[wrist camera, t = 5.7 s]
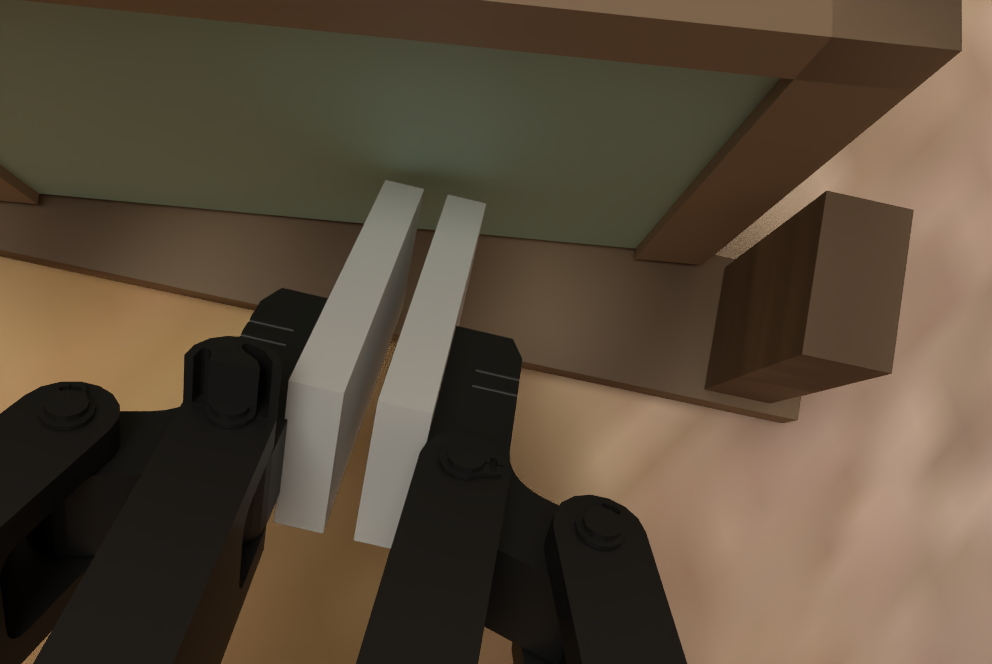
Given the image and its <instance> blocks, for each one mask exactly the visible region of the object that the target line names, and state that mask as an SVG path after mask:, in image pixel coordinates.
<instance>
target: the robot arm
mask: <svg viewBox="0 0 992 664" xmlns="http://www.w3.org/2000/svg"><path fill="white" fill-rule="evenodd" d="M423 192H424V189H422V188H418V187H414V186H409V185H405V184H401V183H397V182H392V181H388V180H385V182H384V184H383V186H382V188H381V190H380V192H379V195H378V197H377V199H376V201H375V203H374V205H373V207H372V209H371V211H370V213H369V215H368V217H367V219H366V221H365V223H364V226H363V228H362V230H361V232H360V234H359V236H358V238H357V240H356V242H355V244H354V246H353V248H352V250H351V252H350V255H349V257H348V259H347V261H346V263H345V265H344V267H343V269H342V271H341V273H340V275H339V277H338V279H337V281H336V284H335V286H334V288H333V290H332V292H331V294H330V296H329V298H325V297H320V296H316V295H312V294H307V293H303V292H299V291H294V290H290V289H286V288H281V289H279V290H277V291H276V292H274V293H272V294H271V295H269V296H267V297H266V298H264V299H263V300H261V301H260V303H259V304H258V306H257V308H256V309H255V311H254V313H253V314H252V316H251V318H250V321H249V322H248V323H247V324H246V326H245V328H244V329H243V331H242V333H241V337H240V336H239V337H234V336H225V337H217V338H210V339H207V340H205V341H203V342H200V343H198V344H195V345H194V346H193V347H192V348H191V349H190V350H189V351H188V352H187V353H186V354H185V356H184V393H183V403H182V405H181V406H180V407H177V408H173V409H169V410H162V411H120V405H119V403H118V402H117V400H116V399H115V397H114V396H113V394H111V393H110V392H108V391H107V390H105V389H103V388H102V387H100V386H97V385H93V384H88V383H84V382H58V383H54V384H50V385H46V386H41V387H39V388H38V389H36V390H34V391H32V392H30V393H28V394H26V395H25V396H23V397H22V398H21V399H19V400H18V401H17V402H15V403H14V404H13V405H11V406H10V407H9V408H7V409H6V410H5V411H3V412H2V413H1V414H0V664H22V662H23V661H24V660H25V659H26V658H27V657H28V656H29V655H30V654H31V653H32V652H33V651H34V650H35V648H36V647H37V646H38V645H39V644H40V643H41V642H42V641H43V640H44V639H45V638H46V637H47V636H48V634H49V633H50V632H51V631H52V632H51V633H50V635H49V637H48V639H47V640H46V642H45V644H44V646H43V647H42V649H41V651H40V653H39V654H38V656H37V658H36V660H35V661H34V663H33V664H221V661H222V658H223V656H224V653H225V650H226V648H227V645H228V643H229V640H230V637H231V635H232V632H233V629H234V627H235V624H236V621H237V619H238V616H239V613H240V611H241V608H242V605H243V603H244V600H245V597H246V595H247V592H248V589H249V587H250V584H251V581H252V579H253V576H254V574H255V571H256V568H257V566H258V563H259V560H260V558H261V555H262V552H263V550H264V542H265V532H266V524H267V522H268V520H269V517H270V515H271V512H272V510H273V508H274V505H275V503H276V506H275V515H274V523H278V524H282V525H287V526H291V527H296V528H300V529H305V530H309V531H314V532H318V533H324V530H325V527H326V524H327V521H328V519H329V516H330V513H331V510H332V507H333V504H334V501H335V499H336V496H337V493H338V490H339V487H340V484H341V481H342V479H343V476H344V473H345V470H346V467H347V464H348V462H349V459H350V456H351V453H352V450H353V447H354V444H355V442H356V439H357V436H358V433H359V430H360V427H361V424H362V422H363V419H364V416H365V413H366V410H367V407H368V404H369V402H370V399H371V396H372V393H373V390H374V387H375V385H376V382H377V379H378V376H379V373H380V370H381V367H382V365H383V362H384V359H385V356H386V353H387V350H388V347H389V345H390V342H391V339H392V336H393V333H394V330H395V328H396V325H397V322H398V319H399V316H400V313H401V310H402V308H403V303H404V298H405V292H406V287H407V281H408V276H409V270H410V265H411V259H412V253H413V248H414V242H415V237H416V231H417V226H418V220H419V215H420V209H421V204H422V198H423ZM485 207H486V203H482V202H478V201H473V200H469V199H465V198H461V197H456V196H452V195H447V198H446V201H445V204H444V207H443V210H442V213H441V216H440V219H439V222H438V225H437V228H436V231H435V234H434V237H433V240H432V243H431V246H430V249H429V251H428V254H427V257H426V260H425V263H424V266H423V269H422V272H421V275H420V278H419V281H418V284H417V287H416V290H415V293H414V296H413V299H412V302H411V305H410V307H409V310H408V313H407V316H406V319H405V322H404V325H403V328H402V331H401V334H400V337H399V340H398V343H397V346H396V349H395V352H394V355H393V358H392V361H391V364H390V366H389V369H388V372H387V375H386V378H385V381H384V384H383V387H382V390H381V393H380V396H379V399H378V403H377V409H376V414H375V420H374V426H373V432H372V437H371V443H370V449H369V455H368V460H367V466H366V472H365V477H364V483H363V489H362V495H361V500H360V506H359V512H358V518H357V523H356V529H355V535H354V541H359V542H363V543H368V544H372V545H376V546H381V547H385V548H390V553H389V556H388V559H387V563H386V566H385V569H384V573H383V576H382V579H381V582H380V586H379V589H378V592H377V596H376V599H375V602H374V606H373V609H372V612H371V616H370V619H369V622H368V626H367V629H366V632H365V635H364V639H363V642H362V645H361V649H360V652H359V655H358V659H357V662H356V664H478V660H479V654H480V648H481V642H482V637H483V631H484V626H485V627H486V628H488V629H490V630H492V631H494V632H496V633H497V634H499V635H501V636H503V637H505V638H507V639H508V640H510V641H512V655H513V662H514V664H687V662H686V658H685V655H684V652H683V649H682V646H681V643H680V639H679V636H678V633H677V630H676V627H675V623H674V620H673V617H672V614H671V611H670V607H669V604H668V601H667V598H666V595H665V592H664V588H663V585H662V582H661V579H660V576H659V572H658V569H657V566H656V563H655V560H654V556H653V553H652V550H651V547H650V544H649V541H648V537H647V534H646V532H645V530H644V528H643V526H642V525H641V523H640V521H639V519H638V518H637V517H636V516H635V515H633V514H632V513H631V512H630V511H629V510H628V509H627V508H626V507H624V506H622V505H620V504H618V503H616V502H614V501H612V500H610V499H608V498H603V497H599V496H594V495H583V496H574V497H572V498H570V499H568V500H566V501H564V502H562V503H561V504H560V505H556V504H554V503H552V502H550V501H548V500H546V499H544V498H542V497H541V496H539V495H537V494H536V493H534V492H532V491H531V490H530V489H529V488H527V487H526V486H525V485H524V484H523V483H522V482H521V481H520V480H519V479H518V477H517V476H516V474H515V473H514V471H513V469H512V466H511V464H510V454H509V452H510V445H511V437H512V430H513V423H514V416H515V408H516V401H517V394H518V387H519V379H520V372H521V365H522V357H521V355H520V353H519V351H518V348H517V346H516V344H515V342H514V340H513V339H512V338H507V337H503V336H499V335H494V334H490V333H486V332H481V331H477V330H473V329H468V328H464V327H460V326H459V323H460V319H461V315H462V310H463V306H464V301H465V297H466V292H467V288H468V283H469V279H470V274H471V270H472V265H473V261H474V256H475V252H476V247H477V243H478V238H479V234H480V229H481V225H482V220H483V216H484V211H485Z"/></svg>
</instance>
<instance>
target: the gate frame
mask: <svg viewBox="0 0 992 664" xmlns="http://www.w3.org/2000/svg"><path fill="white" fill-rule="evenodd" d="M913 211H914V210H912V209H907V208H903V207H898V206H894V205H889V204H885V203H880V202H875V201H871V200H866V199H862V198H857V197H853V196H848V195H844V194H839V193H835V192H830V191H826V192H824V193H823V194H822V195H820V196H819V197H818V198H816V199H815V200H814V201H812V202H811V203H810V204H808V205H807V206H806V207H804V208H803V209H802V210H800V211H799V212H798V213H797V214H795V215H794V216H793V217H791V218H790V219H789V220H787V221H786V222H785V223H783V224H782V225H781V226H779V227H778V228H777V229H775V230H774V231H773V232H771V233H770V234H769V235H767V236H766V237H765V238H763V239H762V240H761V241H759V242H758V243H757V244H755V245H754V246H753V247H751V248H750V249H749V250H747V251H746V252H745V253H743V254H742V255H741V256H739V257H738V258H737V259H731V258H726V257H721V256H717V255H713V256H712V257H711V258H710V259H709V260H707V261H706V262H705V263H704V264H703V265H697V264H686V263H675V262H664V261H653V260H642V259H635V253H636V249H635V248H624V247H613V246H603V245H592V244H581V243H570V242H559V241H548V240H537V239H527V238H516V237H505V236H494V235H483V234H479V238H478V243H477V247H476V252H475V256H474V261H473V265H472V270H471V274H470V279H469V283H468V288H467V292H466V297H465V301H464V306H463V310H462V315H461V319H460V323H459V326H460V327H464V328H468V329H473V330H477V331H481V332H486V333H490V334H494V335H499V336H503V337H507V338H512V339H513V340H514V342H515V344H516V346H517V348H518V351H519V353H520V355H521V357H522V365H521V367H522V368H527V369H532V370H536V371H541V372H546V373H550V374H555V375H560V376H564V377H569V378H574V379H579V380H583V381H588V382H593V383H597V384H602V385H607V386H611V387H616V388H621V389H625V390H630V391H635V392H639V393H644V394H649V395H653V396H658V397H663V398H667V399H672V400H677V401H681V402H686V403H691V404H696V405H700V406H705V407H710V408H714V409H719V410H724V411H728V412H733V413H738V414H742V415H747V416H752V417H756V418H761V419H766V420H770V421H775V422H780V423H785V422H790V421H796V420H798V414H799V407H800V400H801V396H803V395H807V394H811V393H815V392H819V391H823V390H827V389H831V388H835V387H839V386H843V385H847V384H851V383H855V382H859V381H864V380H868V379H872V378H876V377H880V376H884V375H888V374H892V367H893V359H894V352H895V345H896V337H897V330H898V322H899V315H900V307H901V300H902V292H903V285H904V278H905V270H906V263H907V255H908V248H909V240H910V233H911V225H912V218H913ZM363 226H364V223H353V222H342V221H331V220H321V219H310V218H299V217H288V216H277V215H266V214H255V213H245V212H234V211H223V210H212V209H201V208H190V207H180V206H169V205H158V204H147V203H136V202H125V201H114V200H104V199H93V198H82V197H71V196H60V195H49V194H39V196H38V203H37V204H31V203H20V202H9V201H0V256H3V257H7V258H12V259H17V260H21V261H26V262H31V263H35V264H40V265H45V266H49V267H54V268H59V269H64V270H68V271H73V272H78V273H82V274H87V275H92V276H96V277H101V278H106V279H110V280H115V281H120V282H124V283H129V284H134V285H138V286H143V287H148V288H152V289H157V290H162V291H167V292H171V293H176V294H181V295H185V296H190V297H195V298H199V299H204V300H209V301H213V302H218V303H223V304H227V305H232V306H237V307H241V308H246V309H251V310H255V309H256V308H257V306H258V304H259V303H260V301H261V300H263V299H264V298H266V297H267V296H269V295H271V294H272V293H274V292H276V291H277V290H279V289H281V288H286V289H290V290H294V291H299V292H303V293H307V294H312V295H316V296H320V297H325V298H329V296H330V294H331V292H332V290H333V288H334V286H335V284H336V281H337V279H338V277H339V275H340V273H341V271H342V269H343V267H344V265H345V263H346V261H347V259H348V257H349V255H350V252H351V250H352V248H353V246H354V244H355V242H356V240H357V238H358V236H359V234H360V232H361V230H362V228H363ZM435 231H436V230H429V229H418V228H417V231H416V237H415V242H414V248H413V253H412V259H411V265H410V270H409V276H408V281H407V287H406V292H405V298H404V303H403V308H402V310H401V313H400V316H399V319H398V322H397V325H396V328H395V330H394V333H393V336H392V339H391V340H396V341H398V340H399V337H400V334H401V331H402V328H403V325H404V322H405V319H406V316H407V313H408V310H409V307H410V305H411V302H412V299H413V296H414V293H415V290H416V287H417V284H418V281H419V278H420V275H421V272H422V269H423V266H424V263H425V260H426V257H427V254H428V251H429V249H430V246H431V243H432V240H433V237H434V234H435Z"/></svg>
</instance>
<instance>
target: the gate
mask: <svg viewBox="0 0 992 664" xmlns="http://www.w3.org/2000/svg"><path fill="white" fill-rule="evenodd" d="M961 51H962V1H961V0H0V201H9V202H20V203H31V204H37V203H38V196H39V194H49V195H60V196H71V197H82V198H93V199H104V200H114V201H125V202H136V203H147V204H158V205H169V206H180V207H190V208H201V209H212V210H223V211H234V212H245V213H255V214H266V215H277V216H288V217H299V218H310V219H321V220H331V221H342V222H353V223H365V221H366V219H367V217H368V215H369V213H370V211H371V209H372V207H373V205H374V203H375V201H376V199H377V197H378V195H379V192H380V190H381V188H382V186H383V184H384V182H385V180H388V181H392V182H397V183H401V184H405V185H409V186H414V187H418V188H422V189H424V192H423V198H422V204H421V209H420V215H419V220H418V226H417V228H418V229H429V230H436V228H437V225H438V222H439V219H440V216H441V213H442V210H443V207H444V204H445V201H446V198H447V195H452V196H456V197H461V198H465V199H469V200H473V201H478V202H482V203H486V207H485V211H484V216H483V220H482V225H481V229H480V234H483V235H494V236H505V237H516V238H527V239H537V240H548V241H559V242H570V243H581V244H592V245H603V246H613V247H624V248H635V249H636V253H635V259H642V260H653V261H664V262H675V263H686V264H697V265H703V264H704V263H705V262H706V261H707V260H709V259H710V258H711V257H712V256H713V255H715V254H716V253H717V252H718V251H720V250H721V249H722V248H723V247H724V246H726V245H727V244H728V243H729V242H730V241H732V240H733V239H734V238H735V237H737V236H738V235H739V234H740V233H741V232H743V231H744V230H745V229H746V228H747V227H749V226H750V225H751V224H752V223H753V222H755V221H756V220H757V219H758V218H760V217H761V216H762V215H763V214H764V213H766V212H767V211H768V210H769V209H770V208H772V207H773V206H774V205H775V204H777V203H778V202H779V201H780V200H781V199H783V198H784V197H785V196H786V195H787V194H789V193H790V192H791V191H792V190H793V189H795V188H796V187H797V186H798V185H800V184H801V183H802V182H803V181H804V180H806V179H807V178H808V177H809V176H810V175H812V174H813V173H814V172H815V171H817V170H818V169H819V168H820V167H821V166H823V165H824V164H825V163H826V162H827V161H829V160H830V159H831V158H832V157H833V156H835V155H836V154H837V153H838V152H840V151H841V150H842V149H843V148H844V147H846V146H847V145H848V144H849V143H850V142H852V141H853V140H854V139H855V138H857V137H858V136H859V135H860V134H861V133H863V132H864V131H865V130H866V129H867V128H869V127H870V126H871V125H872V124H873V123H875V122H876V121H877V120H878V119H880V118H881V117H882V116H883V115H884V114H886V113H887V112H888V111H889V110H890V109H892V108H893V107H894V106H895V105H897V104H898V103H899V102H900V101H901V100H903V99H904V98H905V97H906V96H907V95H909V94H910V93H911V92H912V91H913V90H915V89H916V88H917V87H918V86H920V85H921V84H922V83H923V82H924V81H926V80H927V79H928V78H929V77H930V76H932V75H933V74H934V73H935V72H937V71H938V70H939V69H940V68H941V67H943V66H944V65H945V64H946V63H947V62H949V61H950V60H951V59H952V58H953V57H955V56H956V55H957V54H958V53H960V52H961Z"/></svg>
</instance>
